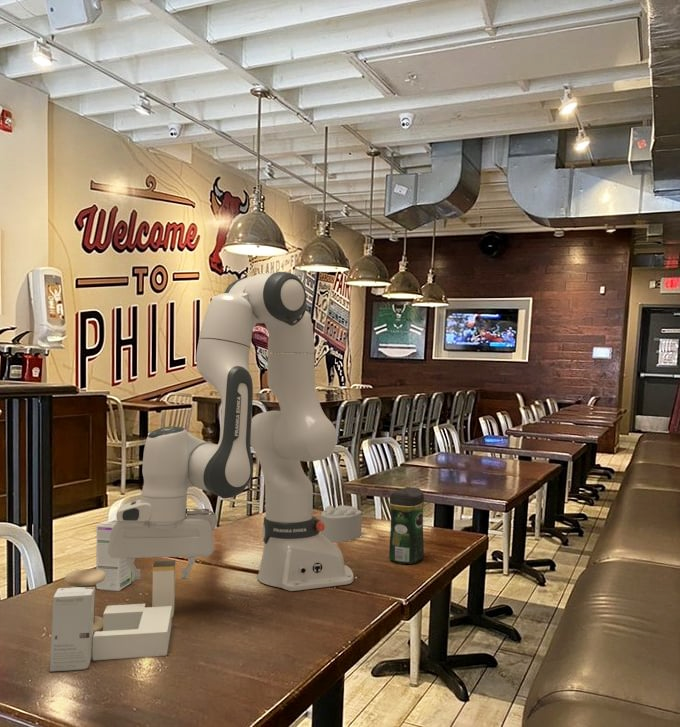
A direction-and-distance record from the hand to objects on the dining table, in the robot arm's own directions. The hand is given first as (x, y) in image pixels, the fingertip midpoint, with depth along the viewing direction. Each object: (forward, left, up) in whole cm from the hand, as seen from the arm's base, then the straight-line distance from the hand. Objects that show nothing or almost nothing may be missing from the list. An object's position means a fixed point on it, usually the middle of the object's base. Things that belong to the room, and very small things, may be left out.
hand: (160, 578), depth 127 cm
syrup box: (+11, -18, -7) cm, 23 cm away
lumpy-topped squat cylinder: (-47, -53, -7) cm, 71 cm away
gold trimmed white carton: (-1, 0, -7) cm, 7 cm away
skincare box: (+12, +20, -7) cm, 24 cm away
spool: (+13, +5, -7) cm, 16 cm away
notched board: (+3, +13, -7) cm, 15 cm away
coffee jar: (-60, -28, -7) cm, 66 cm away
